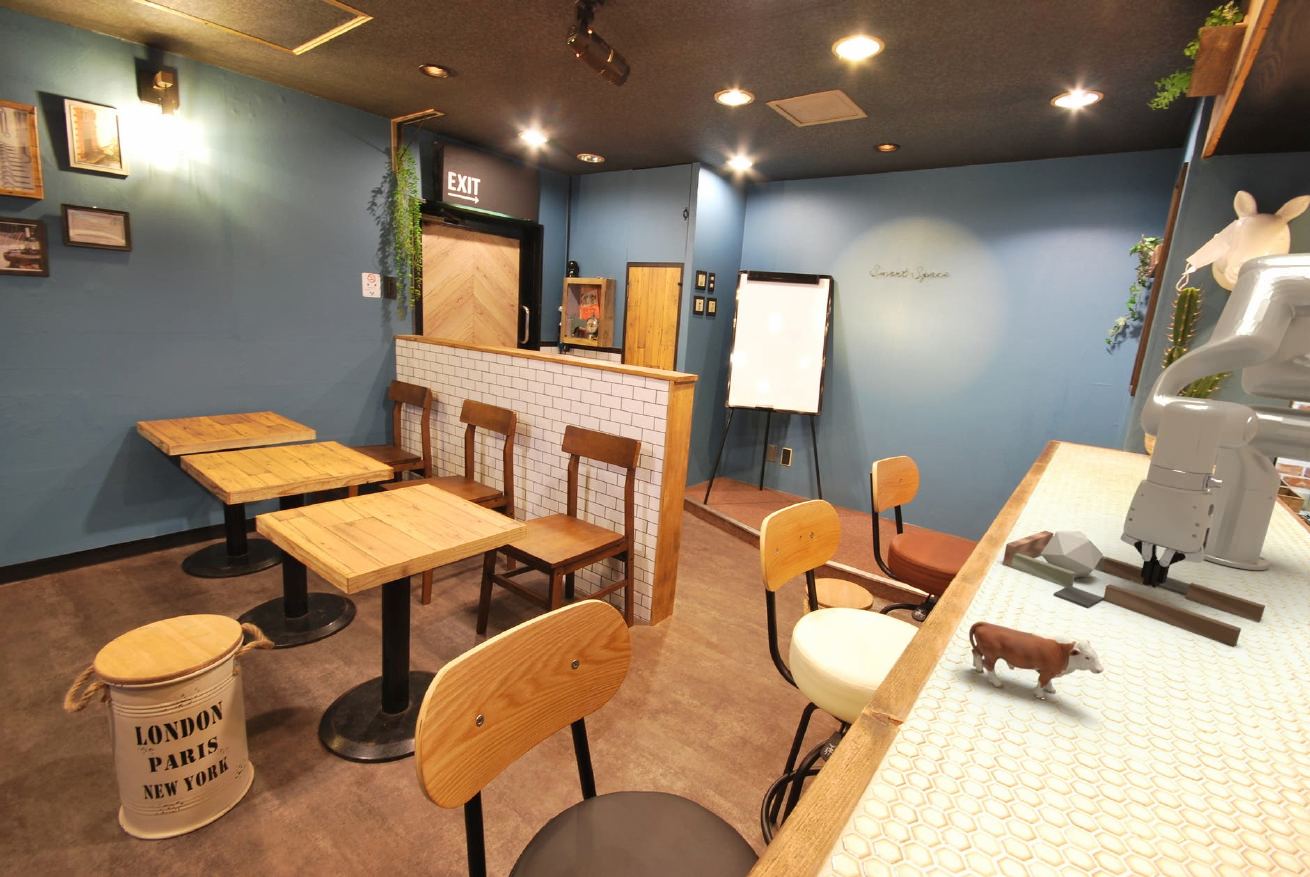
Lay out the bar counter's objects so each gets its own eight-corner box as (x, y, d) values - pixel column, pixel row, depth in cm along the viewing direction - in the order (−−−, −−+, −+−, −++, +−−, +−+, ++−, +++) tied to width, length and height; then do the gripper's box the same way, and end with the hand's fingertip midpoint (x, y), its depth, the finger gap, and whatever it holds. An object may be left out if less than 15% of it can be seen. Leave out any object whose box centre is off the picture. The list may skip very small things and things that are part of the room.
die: (1101, 592, 102) (1119, 543, 104) (1062, 566, 101) (1081, 518, 103) (1061, 587, 110) (1078, 542, 112) (1024, 563, 109) (1043, 519, 111)
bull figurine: (1093, 720, 66) (1109, 655, 64) (961, 677, 73) (972, 616, 71) (1090, 700, 70) (1105, 638, 68) (964, 661, 76) (974, 603, 75)
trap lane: (1054, 544, 122) (1058, 526, 122) (1270, 611, 97) (1276, 588, 96) (986, 570, 107) (990, 549, 106) (1222, 658, 81) (1229, 631, 80)
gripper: (1247, 488, 90) (1217, 598, 94) (1130, 465, 102) (1107, 563, 106) (1234, 494, 86) (1203, 609, 90) (1113, 469, 98) (1090, 571, 102)
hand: (1151, 584), depth 98 cm, fingers closed
